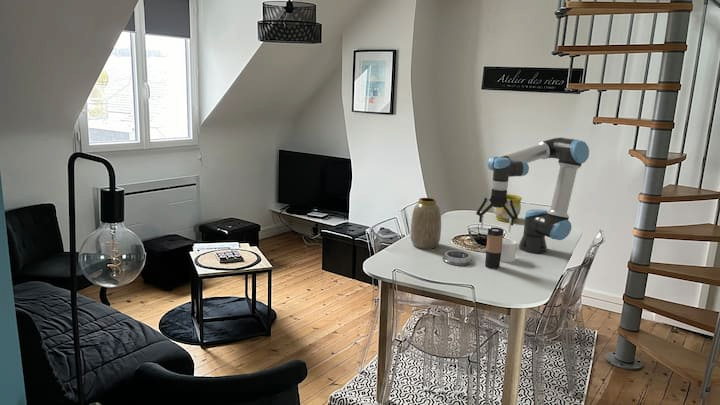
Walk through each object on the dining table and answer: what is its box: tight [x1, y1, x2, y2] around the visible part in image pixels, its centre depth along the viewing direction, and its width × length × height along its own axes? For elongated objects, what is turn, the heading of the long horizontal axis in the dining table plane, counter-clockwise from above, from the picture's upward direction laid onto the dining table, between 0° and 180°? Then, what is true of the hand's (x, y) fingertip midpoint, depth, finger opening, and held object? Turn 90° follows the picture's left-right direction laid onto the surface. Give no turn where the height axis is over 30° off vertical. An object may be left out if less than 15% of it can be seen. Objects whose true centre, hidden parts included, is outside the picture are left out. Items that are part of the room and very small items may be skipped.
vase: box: [410, 197, 442, 250], centre depth 299 cm, size 17×17×27 cm
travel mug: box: [484, 226, 504, 270], centre depth 268 cm, size 8×8×20 cm
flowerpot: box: [493, 193, 522, 223], centre depth 362 cm, size 18×18×16 cm
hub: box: [442, 249, 473, 267], centre depth 277 cm, size 15×15×4 cm
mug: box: [500, 238, 517, 264], centre depth 281 cm, size 13×10×10 cm
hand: (495, 230), depth 265 cm, fingers open, 13 cm apart
